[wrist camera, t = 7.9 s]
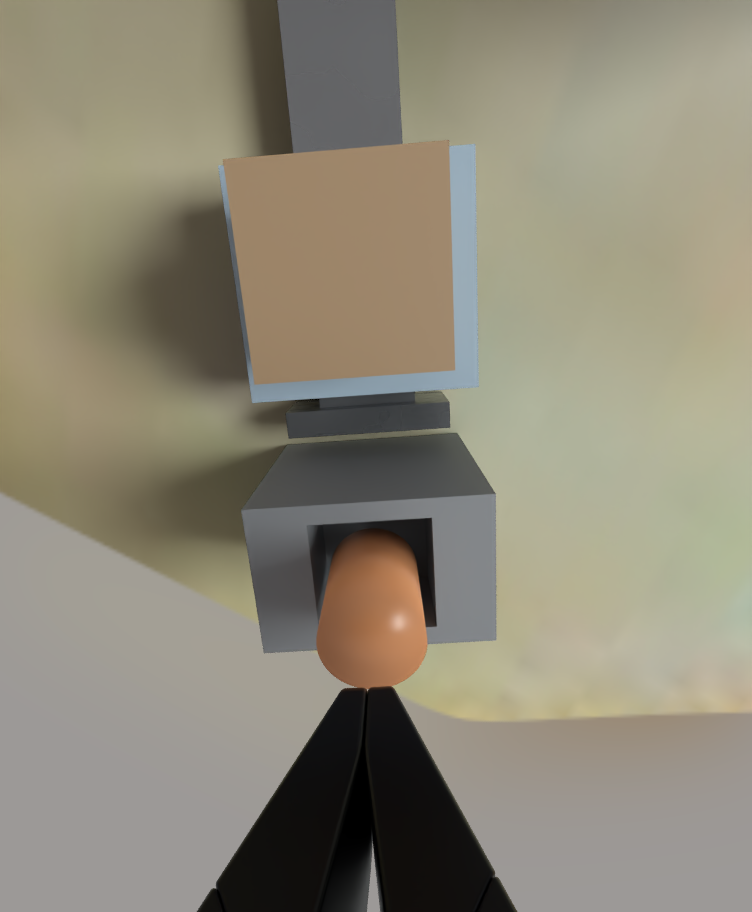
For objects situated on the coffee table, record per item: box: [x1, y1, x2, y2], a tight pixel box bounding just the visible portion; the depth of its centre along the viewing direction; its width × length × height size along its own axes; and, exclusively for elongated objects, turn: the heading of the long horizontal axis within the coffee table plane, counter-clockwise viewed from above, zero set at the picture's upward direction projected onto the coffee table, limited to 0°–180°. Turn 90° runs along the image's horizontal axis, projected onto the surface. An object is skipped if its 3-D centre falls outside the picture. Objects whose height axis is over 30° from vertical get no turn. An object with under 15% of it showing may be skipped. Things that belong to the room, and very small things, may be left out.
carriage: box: [218, 140, 479, 403], centre depth 12 cm, size 6×6×7 cm
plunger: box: [316, 528, 427, 689], centre depth 11 cm, size 2×2×3 cm
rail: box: [277, 0, 450, 438], centre depth 13 cm, size 5×20×2 cm, turn 4°
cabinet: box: [241, 433, 496, 653], centre depth 15 cm, size 6×4×6 cm, turn 94°
